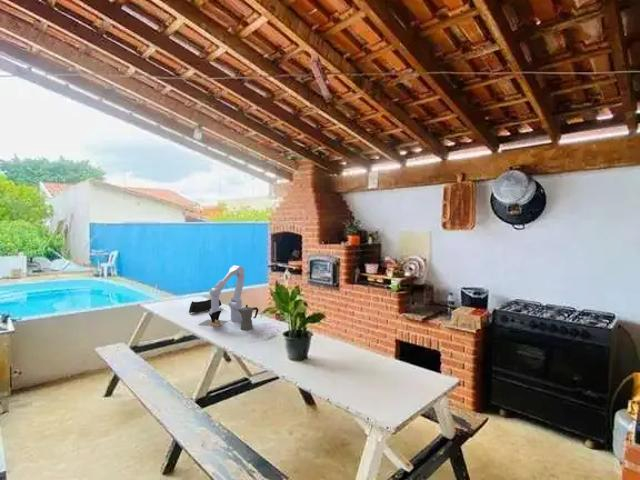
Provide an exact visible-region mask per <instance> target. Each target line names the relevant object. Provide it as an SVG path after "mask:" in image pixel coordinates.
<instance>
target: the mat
mask: <svg viewBox="0 0 640 480" xmlns="http://www.w3.org/2000/svg"><path fill="white" fill-rule="evenodd" d="M210 321H211V319H206V320H204V321H202V322H201V323H198V326H200V327H201V326H202V327H204V326H205V327H215V328H217V327H218V328H219V327H221V326H223V325H225V324H226V323H228V322H229V320H221V324H220V325H219V326H216V325H210Z"/></svg>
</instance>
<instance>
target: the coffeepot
mask: <svg viewBox="0 0 640 480" xmlns="http://www.w3.org/2000/svg"><path fill="white" fill-rule="evenodd" d="M238 311H239V312H240V314H241V317H242V321H241V322H240V323H241V324H240V328H239V329H240V330H241V331H250V330H253V328H254V326H253V320H252V319H256V318H257V316H258V313H259V308H258V307H257V306H256V307H252V306H251V307H250V306H248V304H245V307H241V309H238ZM253 311H255V314H254V316H253Z"/></svg>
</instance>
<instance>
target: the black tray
mask: <svg viewBox="0 0 640 480" xmlns="http://www.w3.org/2000/svg"><path fill="white" fill-rule="evenodd" d="M221 306H222V301H221V300H220V299H219V307H221ZM210 309H211V298H210V299H206V300H201V301H191V303H190V304H189V310H188V313H189V314H191V313H192V314H193V313H195V314H196V313H203V312H208V311H209V312H210V311H211V310H210Z"/></svg>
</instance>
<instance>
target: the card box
mask: <svg viewBox="0 0 640 480" xmlns="http://www.w3.org/2000/svg"><path fill="white" fill-rule="evenodd" d="M210 320H211V319H210ZM220 324H221V320H215V323H214V322H212V320H211V321H210V325H216V326H219V325H220Z"/></svg>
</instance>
